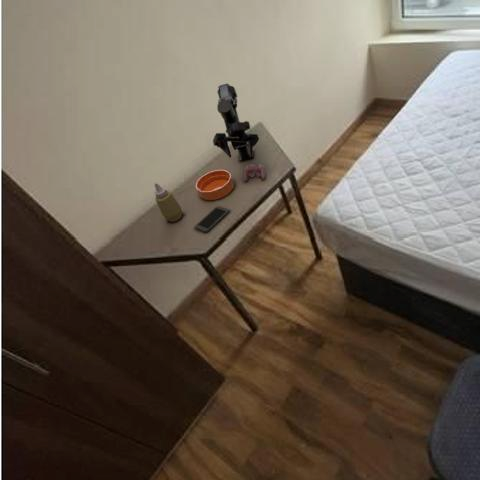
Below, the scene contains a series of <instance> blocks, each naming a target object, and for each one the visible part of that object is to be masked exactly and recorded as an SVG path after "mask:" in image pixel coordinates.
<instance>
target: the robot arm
mask: <svg viewBox="0 0 480 480" xmlns="http://www.w3.org/2000/svg"><path fill="white" fill-rule="evenodd" d="M217 87H218V88H217V89H218V90H217V95H218V98H219V99H218V100H217V103H218V104H216V105H217V107H216V109H217V112H218V113H219V114H220V116H221V118H222V119H223V122H224V126H225V132H216V133H215V135H214V137H213V139H212V144H213V146H214V147H217V148H220V149H221V150H222V151H223V152H224V154H226V155H227V156H228V157H229V158H230V159H231V158H232V153H231V150H230V147H229V142H230V143H231V146H232V148H233V151H236V150H237V152H238V155H239V161H240V162H243V161H247V160H251V159H253V158H254V152H253V151H254V146H256V145H257V143H258V142H259V140H260V136H259V135H258V133H246V131H249V130H250V129H251V124H250V122H249V121H243V122H242V121H240V118H239V115H238V111H237V108H238V93H237V90H236V88H235V87H234V86H233V85H230V84H229V83H227V82H226V83H224V84H220V85H219V86H217ZM226 134H227V135H226Z"/></svg>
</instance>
